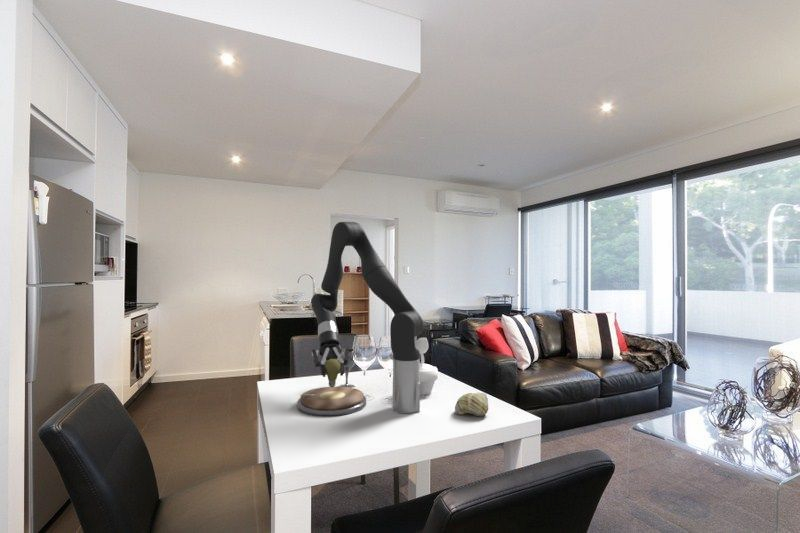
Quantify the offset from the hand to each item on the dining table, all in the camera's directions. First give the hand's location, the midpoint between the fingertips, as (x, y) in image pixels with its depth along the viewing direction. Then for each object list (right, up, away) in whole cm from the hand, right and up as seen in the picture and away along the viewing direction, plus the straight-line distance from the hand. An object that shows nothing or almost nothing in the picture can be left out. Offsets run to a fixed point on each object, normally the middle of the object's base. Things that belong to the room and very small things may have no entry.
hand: (333, 375), depth 134 cm
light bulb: (-1, -5, +2) cm, 5 cm away
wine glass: (+1, -12, +23) cm, 26 cm away
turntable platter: (-1, -9, +1) cm, 9 cm away
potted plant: (+32, -12, +16) cm, 38 cm away
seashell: (+48, -11, -7) cm, 49 cm away
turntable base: (-1, -11, +1) cm, 11 cm away
